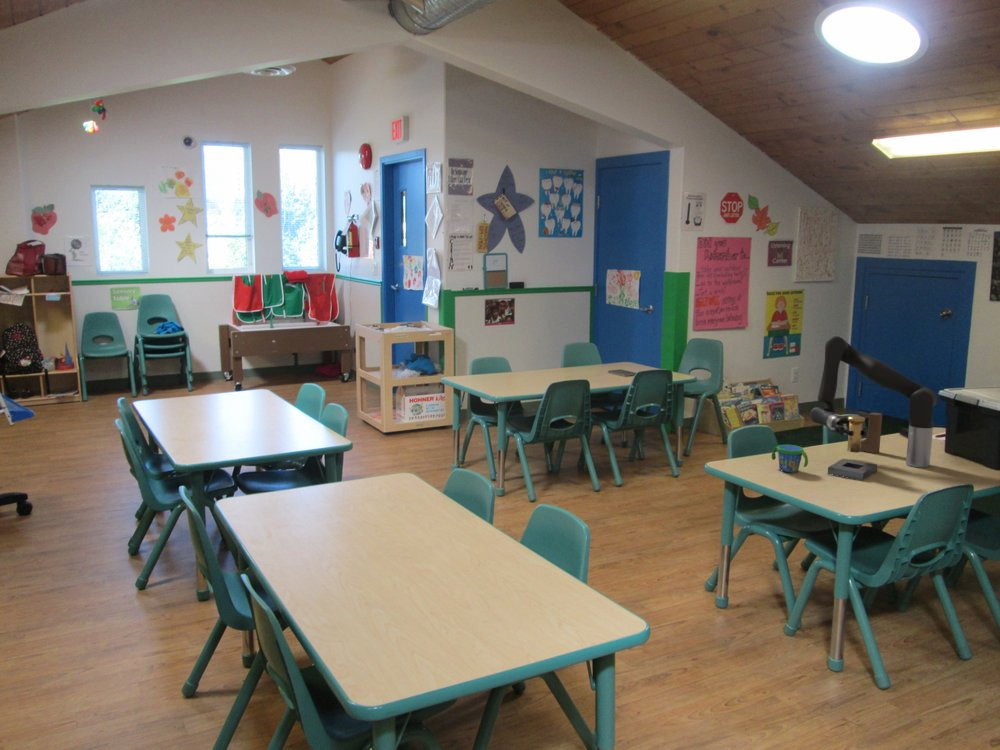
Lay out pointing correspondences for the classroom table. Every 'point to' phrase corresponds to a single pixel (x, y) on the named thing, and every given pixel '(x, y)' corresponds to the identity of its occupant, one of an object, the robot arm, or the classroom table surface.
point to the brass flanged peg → (855, 433)
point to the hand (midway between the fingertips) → (858, 433)
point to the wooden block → (872, 434)
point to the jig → (852, 469)
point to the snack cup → (789, 457)
